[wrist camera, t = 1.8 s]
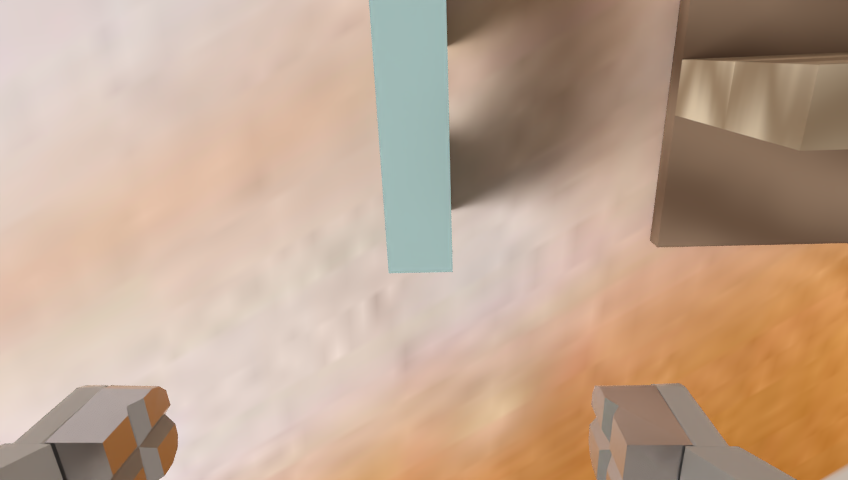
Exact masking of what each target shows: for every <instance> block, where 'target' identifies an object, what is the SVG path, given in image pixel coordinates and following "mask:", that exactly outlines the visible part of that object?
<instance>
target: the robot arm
mask: <svg viewBox="0 0 848 480" xmlns="http://www.w3.org/2000/svg"><path fill="white" fill-rule="evenodd" d="M169 406H170V402H169V399H168V395H167V392H166V390H164V389H163V388H161V387H159V386H114V385H111V386H107V385H86V386H83V387H79V388H76V389H75V390H74V391H73V392H72V393H71V394H70V395H68V396H67V397H66V398H65V399H64V400H63V401H61V402H60V403H59V404H58V405H57V406H56V407H55V408H53V409H52V410H51V411H50V412H49V413H48V414H47V415H45V416H44V417H43V418H42V419H41V420H40V421H38V422H37V423H36V424H35V425H34V426H33V427H32V428H30V429H29V430H28V431H27V432H26V433H25V434H23V435H22V436H21V437H20V438H19V439H18V440H17V441H15V442H14V443H13V444H3V445H1V446H0V480H159V479H160V478H162V477H163V476H165V474H166V473H167V471H168V470H169V468H170V466H171V465H172V463H173V461H174V457H175V454H176V451H177V447H178V434H177V430H176V425H175V423H174V422H173V421H172V420H171V419H169V418H168V417H167V416H166V415H165V413H166V412H167V410H168V408H169ZM592 407H593V410H594V412H595V415H596V418H595V420H594V421H593V422H592V423H591V424H590V428H589V449H590V458H591V462H592V467H593V470H594V473H595V476H596V479H597V480H796V479H794V478H793V477H791V476H789V475H787V474H786V473H784V472H782V471H780V470H779V469H777V468H775V467H773V466H772V465H770V464H768V463H766V462H765V461H763V460H761V459H759V458H758V457H756V456H754V455H752V454H751V453H749V452H747V451H745V450H744V449H742V448H740V447H730V446H729V445H728V444H727V443H726V441H725V440H724V439H723V437H722V436H721V435H720V433H719V432H718V431H717V429H716V428H715V427H714V425H713V424H712V422H711V421H710V420H709V418H708V417H707V416H706V414H705V413H704V412H703V410H702V409H701V408H700V406H699V405H698V404H697V402H696V401H695V400H694V398H693V397H692V395H691V394H690V393H689V391H688V390H687V389H686V387H685V386H683V385H681V384H680V383H676V384H651V385H621V386H595V388H594V391H593V395H592Z"/></svg>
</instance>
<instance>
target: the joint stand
mask: <svg viewBox="0 0 848 480" xmlns="http://www.w3.org/2000/svg"><path fill="white" fill-rule="evenodd" d="M650 241H651V242H652V243H653V244H654V245H656V246H657V247H689V246H733V245H777V244H822V243H848V0H681V1H680V8H679V16H678V24H677V32H676V40H675V48H674V56H673V64H672V72H671V79H670V87H669V95H668V103H667V111H666V119H665V127H664V135H663V143H662V151H661V158H660V166H659V174H658V182H657V190H656V198H655V206H654V214H653V222H652V229H651V237H650Z"/></svg>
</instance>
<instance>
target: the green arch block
mask: <svg viewBox="0 0 848 480" xmlns="http://www.w3.org/2000/svg"><path fill="white" fill-rule="evenodd" d="M369 8H370V21H371V35H372V49H373V63H374V76H375V90H376V104H377V118H378V131H379V145H380V159H381V172H382V186H383V200H384V214H385V227H386V241H387V255H388V269H389V273H420V272H453V271H452V228H451V185H450V142H449V100H448V57H447V14H446V0H369Z"/></svg>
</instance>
